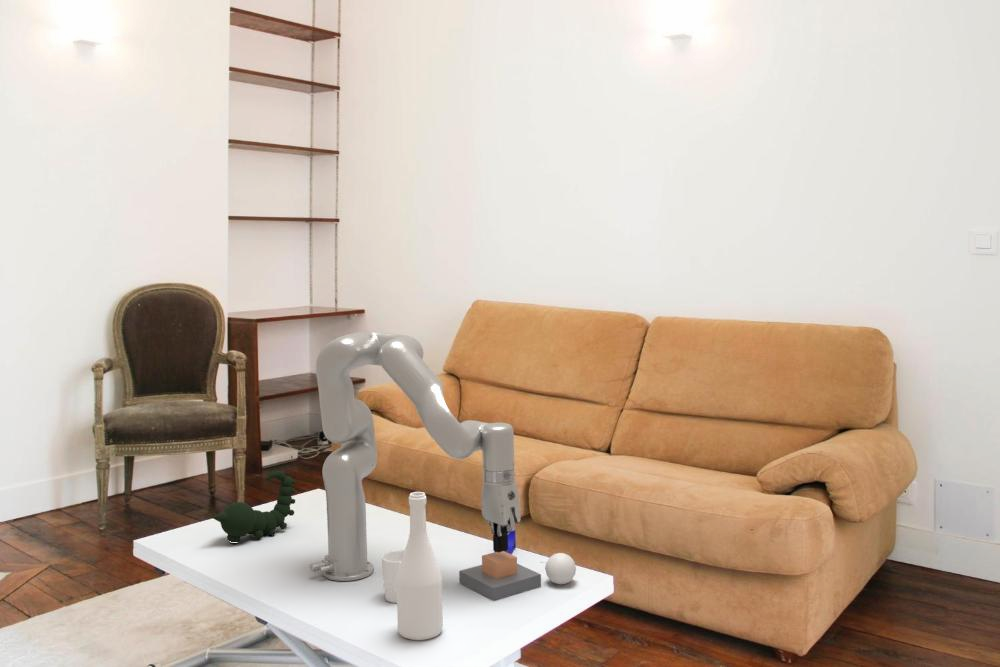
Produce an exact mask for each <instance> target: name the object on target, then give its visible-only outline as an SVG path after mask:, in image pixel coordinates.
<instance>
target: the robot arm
mask: <svg viewBox="0 0 1000 667" xmlns="http://www.w3.org/2000/svg"><path fill="white" fill-rule="evenodd" d="M317 355H318V356H317V358H316V362H315V373H316V374H315V376H316V380H317V389H318V397H319V398H318V399H319V407H320V408H319V409H320V416H321V417H320V418H321V424H322V425H321V427H322V430H323V431H322V432H323V434H324V436H325V438H326V439H327V440H328V441H329V442H331V444H338V445H339V444H340V445H341V447H339V448H337V449H336V450H334V451H333V452H331V453H330V454H329V455H328V456H327V457H326V459H325V460H324V463H323V466H322V470H321V471H322V472H321V473H322V479H323V485H324V489H325V490H324V491H325V500H326V517H327V518H326V520H327V525H326V526H327V544H328V545H327V547H328V548H327V549H328V553H327V554H328V555H324V559H323V560H321V561H320V562H314V563H311V564H310V565H309V568H310V572H312V573H315V572H318V571H319V572H320V573H322V575H323V576H324V577H325V578H326V579H328V580H331V581H338V582H350V581H357V580H362V579H364V578H367V577H369V576H370V575H372V574H373V573H374V570H375V569H374V568H375V566H374V564H373V563H371V562H370V561H368V541H367V540H368V539H367V511H366V509H367V508H366V496H365V492H364V488H363V483H362V482H363V479H364V478H366V477H367V476H369V475H370V474H371V473H372V472H373V471H374V469H375V468H376V466H377V463H378V462H377V461H378V449H377V448H378V447H377V440H376V432H375V431H376V430H375V422H374V421H375V420H374V416H373V414H372V411H371V409H370V408H369V406H368V404H366V403H365V402H363V401H362V400H360V399H358V398H355V389H354V388H355V386H354V384H353V380H352V378H351V376H350V372H351V371H353V370H355V369H358V368H361V367H364V366H366V365H371V366H372V365H373V366H378V367H379V366H380V367H381V368H382V369H383V371H385V373H386V374H387V375H388V376H389V377H390V378H391V380H393V382H394V383H395V384H396V385H397V386H398V387H399V388H400V389H401V390H402V392H403V393H404V394H405V395H406V396H407V398H408V399H409V401H411V403H412V404H413V406H415V407H414V408H415V410H416V412H417V414H418V417H419V419H420V420H421V423H422V425H423V426H424V427H423V428H425V430H426V432H427V433H428V434H429V435H430V437H431V439H433V440H434V442H435V443H436V444H437V445H438V446H439V447H440V449H441V450H443V451H444V453H446V455H448V456H449V457H450V458H452V459H455V460H464V459H468V458H469V457H471V456H472V455H473V454H474V453H475V452H478V451H482V453H481V454H482V455H481V456H482V487H481V499H480V500H481V514H482V517H483V518H484V521H485V522H486V523H487V524H488V525H489V526H490V531H491V534H492V542H493V543H492V545H493V546H492V547H493V552H494V551H496V552H498V553H499V552H502V551H506V550H508V534H509V531H514V530H516V524H518V523H520V522H521V505H520V504H521V503H520V497H519V496H520V494H519V490H518V485H517V482H516V481H515V480H516V479H515V478H516V477H515V473H516V472H515V437H514V433H515V432H514V427H513V426H512V425H511V424H510V423H506V422H485V421H479V420H474V419H473V420H472V419H470V420H469V419H467V420H464V421H461V422H459V420H458V419H457V418H456V417H455V416H454V414H453V413H452V411H451V410H450V409H449V407H448V406H447V404H446V401H445V396H444V386H443V383H442V381H441V379H440V378H439V377H438V376H437V375H436V374H435V372H434V371H432V369H431V368H430V367H429V366H428V365H427V363H426V362H425V361H424V360H423V358H424V349H423V346H422V344H421V343H420V341H419V340H417V339H416V338H414V336H410V335H407V334H396V333H395V334H394V333H387V332H377V331H369V330H368V331H367V330H362V331H356V332H353V333H349V334H345V335H342V336H339V337H337V338H334V339H333V340H331V341H330V342H328V343H327V344H326V345H325V346H323V348H322V349H321V350H320V352H319V354H317Z"/></svg>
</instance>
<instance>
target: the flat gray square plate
mask: <svg viewBox="0 0 1000 667" xmlns="http://www.w3.org/2000/svg"><path fill="white" fill-rule="evenodd" d="M458 573H459V574H458V576H459V578H458V579H459V584H460V585H463V586H465V587H466V588H469V589H470V590H472V591H474V592H476V593H478V594H480V595H481V596H484V597H485V598H487V599H489V600H491V601H497V600H501V599H504V598H507V597H510V596H514V595H518V594H520V593H525V592H528V591H530V590H534V589H537V588H541V587H542V574H541V573H540V572H537V571H534V570H532V569H530V568H528V567H526V566H523V565H521V564H520V563H517V574H513V575H509V576H506V577H502V578H499V579H496V578H494V577H492V576H490V575H488V574H486V573H484V572H482V564H480V565H479V564H478V565H476V566H472V567H468V568H465V569H462V570H459V571H458Z"/></svg>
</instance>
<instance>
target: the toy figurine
mask: <svg viewBox="0 0 1000 667" xmlns="http://www.w3.org/2000/svg"><path fill="white" fill-rule="evenodd" d="M271 479H276V480H278V481H280V487H279V489H278V494H279V495H278V496H277V498H276V503H275V505H274V507H273V509H272V510H270V511H268V510H267V511H261V510H258V509H257V510H256V509H254V508H253V507H252V506H251V505H249V504H248V503H246V502H241V501H237V502H233V503H231V504H229V505H227V506H226V507H225V508H224V509H223V511H222V512H221V513H218V514H215V515H213V516H211V517H212V519H213V520H215V521H216V522H219V523H220V527H221V529H222V531H224V533H226V534H227V536H226V539H227V541H228V540H229V541H231V542H238V541H240V542H241V539H242V537H245V536H248V535H247V534H250V535H253V538H255V539H257V538H259V539H262V538H263V536H264V534H265V533H268V536H270V535H274V534H275V535H276V533H277V531H276V528H280V529H281V530H286V529H287V526H288V525H287V522H285V520H286V518H287V517H288V516H294V515H295V511H294V509H291V505H294V504H295V503H296V499H294V498H292V495H293V494H296V488H294V487H293V485H295V484H296V480H295V479H293V478H292V477H291V476H287V475H286V474H285V472H284V471H282V470H272V471H271V472H270V473H269V474H267V477H266V481H268V482H269V481H270V480H271ZM275 535H274V536H275ZM261 537H262V538H261ZM229 541H228V542H229Z"/></svg>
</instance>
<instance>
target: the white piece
mask: <svg viewBox="0 0 1000 667" xmlns="http://www.w3.org/2000/svg"><path fill="white" fill-rule="evenodd" d="M541 563H543V564H544V562H541ZM576 568H577V567H576V562H575V561H574V559H573V558H572V557H571V556H570V555H569V554H567V553H564V552H558V553H554V554H552V555H551V556H550V557H548V559H547V561H546V562H545V567H544V570H545V574H546V576H547V578H548V579H549V580H550V581H551V583H554V584H557V585H565V584H568V583H570V582H571V581H572V580H573V579H574V577H575V575H576V571H577V569H576Z"/></svg>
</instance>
